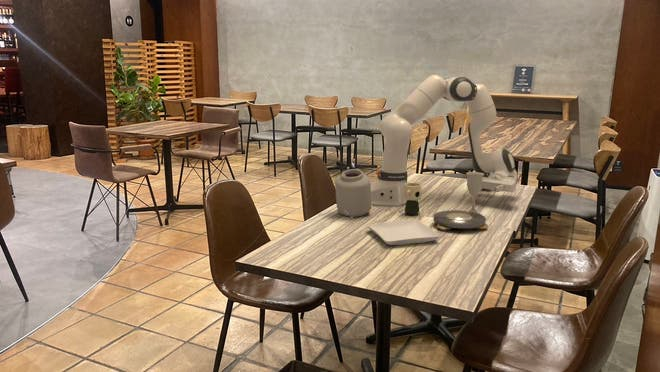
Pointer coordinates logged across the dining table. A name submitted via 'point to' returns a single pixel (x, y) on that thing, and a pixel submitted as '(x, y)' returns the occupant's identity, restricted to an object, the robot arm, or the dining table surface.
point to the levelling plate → (459, 220)
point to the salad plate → (403, 232)
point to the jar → (353, 193)
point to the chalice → (474, 186)
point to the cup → (486, 177)
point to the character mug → (412, 197)
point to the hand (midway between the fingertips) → (485, 187)
